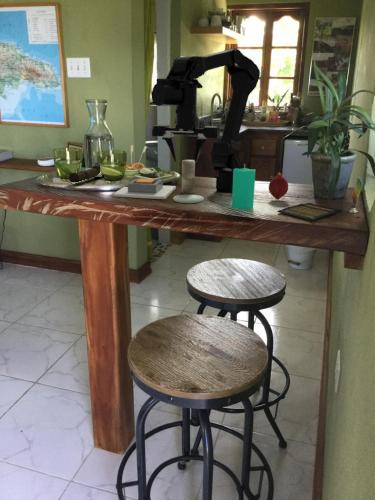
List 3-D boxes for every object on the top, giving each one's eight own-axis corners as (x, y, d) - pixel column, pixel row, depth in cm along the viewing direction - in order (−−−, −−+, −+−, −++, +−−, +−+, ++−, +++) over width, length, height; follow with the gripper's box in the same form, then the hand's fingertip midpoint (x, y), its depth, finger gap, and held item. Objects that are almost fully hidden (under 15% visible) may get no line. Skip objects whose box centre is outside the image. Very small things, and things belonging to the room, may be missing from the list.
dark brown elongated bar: (78, 184, 149) (76, 170, 147) (69, 184, 151) (67, 170, 149) (111, 176, 165) (110, 163, 164) (102, 176, 167) (101, 163, 165)
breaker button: (155, 183, 143) (155, 179, 143) (151, 186, 138) (151, 182, 138) (140, 182, 144) (140, 178, 143) (135, 185, 139) (135, 181, 139)
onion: (290, 201, 133) (292, 174, 130) (271, 201, 132) (273, 174, 130) (283, 197, 139) (285, 171, 136) (265, 197, 138) (267, 171, 135)
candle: (256, 208, 124) (259, 165, 120) (236, 210, 122) (238, 165, 118) (247, 203, 129) (250, 161, 125) (228, 205, 128) (230, 162, 124)
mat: (205, 197, 137) (205, 195, 136) (201, 204, 128) (201, 202, 128) (176, 195, 138) (176, 193, 138) (170, 202, 130) (170, 200, 129)
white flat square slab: (175, 188, 148) (175, 178, 147) (164, 199, 133) (164, 187, 132) (129, 186, 151) (128, 176, 150) (113, 196, 136) (112, 185, 135)
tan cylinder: (195, 191, 144) (195, 160, 141) (193, 194, 141) (193, 161, 137) (183, 190, 145) (183, 159, 142) (180, 193, 141) (180, 161, 138)
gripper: (223, 105, 131) (221, 159, 136) (161, 104, 134) (161, 157, 139) (218, 106, 120) (216, 165, 126) (150, 105, 124) (151, 162, 129)
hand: (185, 162), depth 130 cm, fingers open, 6 cm apart
